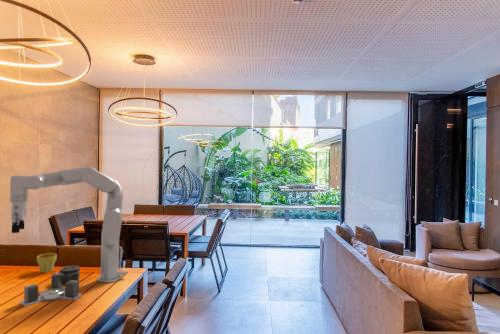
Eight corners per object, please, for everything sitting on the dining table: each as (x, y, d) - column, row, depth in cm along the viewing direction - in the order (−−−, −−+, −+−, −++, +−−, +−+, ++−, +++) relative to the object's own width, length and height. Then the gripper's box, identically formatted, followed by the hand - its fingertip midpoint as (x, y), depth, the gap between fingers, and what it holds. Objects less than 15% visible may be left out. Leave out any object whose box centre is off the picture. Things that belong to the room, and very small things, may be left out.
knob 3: (64, 296, 159) (65, 282, 159) (70, 292, 164) (71, 279, 164) (73, 296, 159) (73, 282, 159) (79, 293, 163) (79, 279, 163)
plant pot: (49, 274, 193) (49, 258, 193) (32, 273, 194) (33, 257, 194) (59, 268, 204) (60, 253, 204) (43, 268, 204) (44, 252, 204)
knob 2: (60, 287, 170) (61, 274, 170) (51, 288, 169) (51, 275, 169) (62, 284, 175) (62, 271, 175) (52, 285, 173) (52, 272, 173)
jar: (76, 283, 179) (77, 270, 179) (56, 285, 177) (57, 271, 177) (81, 277, 189) (81, 264, 189) (62, 278, 186) (62, 265, 186)
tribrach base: (84, 283, 180) (84, 278, 180) (80, 299, 159) (80, 293, 159) (29, 289, 170) (29, 284, 170) (18, 307, 149) (18, 301, 149)
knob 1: (34, 297, 157) (34, 283, 157) (38, 299, 155) (38, 285, 155) (23, 300, 154) (23, 285, 154) (27, 302, 151) (27, 288, 151)
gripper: (23, 200, 163) (22, 233, 163) (31, 197, 179) (30, 227, 179) (5, 200, 160) (4, 234, 160) (14, 197, 176) (14, 228, 176)
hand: (18, 230), depth 169 cm, fingers open, 9 cm apart
